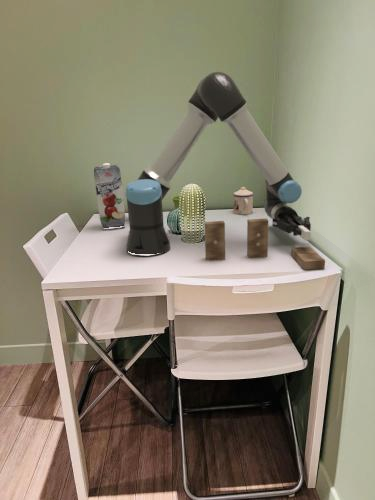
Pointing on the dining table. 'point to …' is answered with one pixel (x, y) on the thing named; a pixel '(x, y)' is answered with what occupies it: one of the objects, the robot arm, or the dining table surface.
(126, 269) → the dining table surface
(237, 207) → the teacup with lid
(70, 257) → the dining table surface
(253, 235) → the tile
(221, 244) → the tile
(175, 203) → the plant pot
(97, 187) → the juice carton
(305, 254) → the tile
